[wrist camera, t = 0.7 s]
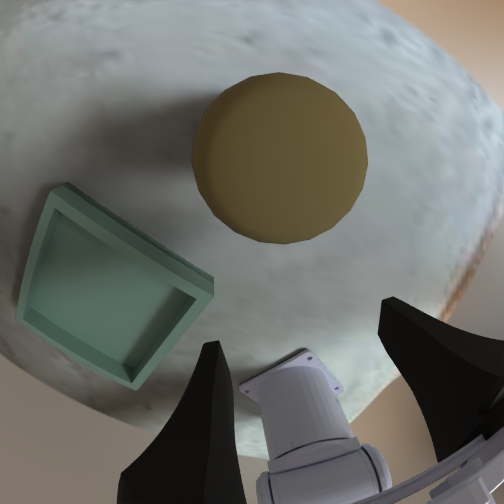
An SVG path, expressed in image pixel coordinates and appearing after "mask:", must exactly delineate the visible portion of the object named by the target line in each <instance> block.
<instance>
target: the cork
mask: <svg viewBox="0 0 504 504" xmlns="http://www.w3.org/2000/svg"><path fill="white" fill-rule="evenodd" d="M367 166H368V158H367V148H366V139H365V136H364V133H363V131H362V129H361V126H360V124H359V122H358V120H357V118H356V115H355V113H354V112H353V111H352V110H351V109H350V108H349V106H348V105H347V104H346V103H345V102H344V101H343V100H342V99H341V98H340V97H339V96H338V95H337V94H336V93H335V92H334V91H332V90H330V89H328V88H327V87H325V86H323V85H321V84H319V83H317V82H316V81H314V80H312V79H310V78H308V77H303V76H298V75H292V74H287V73H280V72H278V73H271V74H264V75H258V76H252V77H249V78H247V79H245V80H243V81H241V82H239V83H237V84H235V85H233V86H232V87H230V88H228V89H226V90H225V91H224V92H223V93H222V94H221V95H220V96H219V97H218V98H217V99H216V100H215V101H214V102H213V103H212V104H211V105H210V106H209V107H208V109H207V110H206V111H205V113H204V115H203V117H202V119H201V122H200V124H199V126H198V128H197V131H196V133H195V135H194V142H193V154H192V167H193V171H194V175H195V179H196V182H197V186H198V190H199V192H200V194H201V195H202V197H203V199H204V200H205V202H206V203H207V205H208V206H209V208H210V209H211V211H212V212H213V214H214V216H216V217H217V218H218V219H219V220H221V221H222V222H223V223H224V224H225V225H227V226H228V227H229V228H230V229H232V230H233V231H234V232H236V233H238V234H241V235H243V236H245V237H248V238H250V239H253V240H255V241H258V242H265V243H275V244H289V243H294V242H300V241H305V240H310V239H312V238H314V237H316V236H318V235H319V234H321V233H323V232H325V231H327V230H329V229H331V228H333V227H334V226H335V225H336V224H337V223H338V222H339V221H340V220H341V219H342V218H343V217H344V216H345V215H346V214H347V213H348V212H349V211H350V210H351V208H352V207H353V205H354V203H355V201H356V200H357V198H358V196H359V194H360V192H361V191H362V189H363V185H364V180H365V176H366V171H367Z"/></svg>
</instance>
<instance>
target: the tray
mask: <svg viewBox="0 0 504 504" xmlns="http://www.w3.org/2000/svg"><path fill="white" fill-rule="evenodd" d="M213 297H214V277H212V276H211V275H209V274H207V273H206V272H204V271H202V270H201V269H199V268H197V267H196V266H194V265H193V264H191V263H189V262H188V261H186V260H184V259H183V258H181V257H180V256H178V255H176V254H175V253H173V252H172V251H170V250H169V249H167V248H165V247H164V246H162V245H161V244H159V243H158V242H156V241H154V240H153V239H151V238H150V237H148V236H147V235H145V234H144V233H142V232H140V231H139V230H137V229H136V228H134V227H133V226H131V225H130V224H128V223H127V222H125V221H124V220H122V219H121V218H119V217H118V216H116V215H115V214H113V213H112V212H110V211H109V210H107V209H106V208H104V207H103V206H101V205H100V204H98V203H97V202H95V201H94V200H93V199H91V198H90V197H88V196H87V195H85V194H84V193H82V192H81V191H80V190H78V189H77V188H75V187H74V186H72V185H71V184H70V183H68V182H67V183H65V184H63V185H61V186H59V187H57V188H55V189H53V190H51V191H50V193H49V195H48V198H47V200H46V203H45V206H44V208H43V211H42V214H41V217H40V220H39V222H38V225H37V228H36V232H35V235H34V238H33V241H32V245H31V248H30V252H29V255H28V259H27V263H26V267H25V271H24V275H23V280H22V284H21V289H20V294H19V299H18V305H17V311H16V317H15V320H17V321H18V322H19V323H21V324H22V325H23V326H25V327H26V328H27V329H29V330H30V331H32V332H33V333H34V334H36V335H37V336H39V337H40V338H42V339H43V340H45V341H46V342H48V343H49V344H51V345H52V346H54V347H55V348H57V349H59V350H60V351H62V352H63V353H65V354H67V355H68V356H70V357H72V358H73V359H75V360H77V361H78V362H80V363H82V364H84V365H85V366H87V367H89V368H91V369H93V370H95V371H96V372H98V373H100V374H102V375H104V376H106V377H108V378H110V379H112V380H114V381H116V382H118V383H120V384H122V385H124V386H126V387H128V388H131V389H133V390H135V391H137V390H138V389H139V388H140V386H141V385H142V384H143V383H144V381H145V380H146V379H147V378H148V377H149V375H150V374H151V373H152V372H153V370H154V369H155V368H156V367H157V366H158V364H159V363H160V362H161V361H162V359H163V358H164V357H165V356H166V355H167V353H168V352H169V351H170V350H171V349H172V347H173V346H174V345H175V344H176V342H177V341H178V340H179V339H180V338H181V336H182V335H183V334H184V333H185V331H186V330H187V329H188V328H189V327H190V325H191V324H192V323H193V322H194V320H195V319H196V318H197V317H198V316H199V314H200V313H201V312H202V311H203V309H204V308H205V307H206V306H207V305H208V303H209V302H210V301H211V300H212V299H213Z"/></svg>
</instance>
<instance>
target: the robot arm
mask: <svg viewBox="0 0 504 504" xmlns="http://www.w3.org/2000/svg"><path fill="white" fill-rule="evenodd" d="M378 336H379V338H380V340H381V342H382V344H383V346H384V348H385V350H386V352H387V353H388V355H389V356H390V358H391V359H392V361H393V362H394V364H395V365H396V367H397V368H398V370H399V371H400V373H401V374H402V376H403V377H404V379H405V380H406V382H407V383H408V385H409V387H410V388H411V390H412V391H413V394H414V396H415V398H416V400H417V402H418V404H419V406H420V409H421V411H422V414H423V416H424V418H425V421H426V424H427V426H428V429H429V432H430V435H431V438H432V442H433V445H434V449H435V453H436V457H437V461H438V464H436V465H434V466H433V467H431V468H429V469H428V470H426V471H424V472H422V473H420V474H418V475H416V476H414V477H412V478H410V479H409V480H407V481H404V482H402V483H400V484H398V485H396V486H394V487H392V480H391V475H390V472H389V469H388V466H387V463H386V462H385V459H384V457H383V456H382V454H381V453H380V451H379V450H378V449H376V448H375V447H373V446H371V445H369V444H367V443H366V444H363V445H360V443H359V440H358V438H357V437H353V434H352V431H351V428H350V426H349V423H348V421H347V419H346V416H345V414H344V412H343V409H342V407H341V405H340V402H339V400H338V398H337V395H339V394H341V393H342V392H343V391H344V389H343V387H342V386H341V385H340V384H339V383H338V381H337V380H336V379H335V378H334V377H333V376H332V375H331V373H330V372H329V371H328V370H327V369H326V368H325V366H324V365H323V364H322V363H321V362H320V361H319V359H318V358H317V357H316V356H315V355H314V354H313V352H312V351H311V350H304V351H302V352H301V353H299V354H297V355H296V356H294V357H292V358H290V359H289V360H287V361H285V362H283V363H281V364H280V365H278V366H276V367H274V368H272V369H270V370H268V371H267V372H265V373H263V374H261V375H259V376H257V377H255V378H253V379H251V380H249V381H247V382H245V383H243V384H241V385H240V386H239V391H240V392H242V393H243V394H245V395H246V396H247V397H249V398H250V399H252V400H253V401H254V402H256V403H257V404H259V407H260V412H261V418H262V423H263V428H264V433H265V438H266V443H267V448H268V453H269V458H270V461H268V462H267V463H268V468H269V472H268V471H266V472H262V473H261V475H260V476H259V478H258V479H257V480H256V492H257V499H258V504H393V503H396V502H398V501H400V500H402V499H404V498H406V497H408V496H410V495H412V494H414V493H416V492H418V491H420V490H421V489H423V488H425V487H427V486H429V485H431V484H432V483H434V482H436V481H437V480H439V479H441V478H442V477H444V476H446V475H447V474H449V473H450V472H452V471H453V470H455V469H457V468H458V467H460V466H461V467H460V470H458V471H457V472H455V473H454V474H453V475H451V476H450V477H448V478H447V479H446V480H445V481H444V482H442V483H441V484H440V485H439V486H437V487H436V488H435V489H433V490H431V491H430V493H429V494H430V496H431V498H432V500H430V501H428V502H426V503H425V504H496V503H495V501H494V499H493V497H492V495H491V492H493V491H494V490H495V489H496V488H497V487H498V486H499V485H500V484H501V483H502V482H503V481H504V341H503V340H496V339H491V338H487V337H483V336H479V335H475V334H472V333H469V332H466V331H463V330H460V329H458V328H455V327H453V326H450V325H448V324H446V323H444V322H442V321H440V320H438V319H436V318H434V317H432V316H430V315H428V314H426V313H424V312H422V311H420V310H418V309H416V308H415V307H413V306H411V305H409V304H407V303H405V302H403V301H401V300H399V299H397V298H395V297H390V298H387V299H383V300H382V303H381V312H380V320H379V327H378ZM308 357H309V358H308ZM117 504H247V503H246V498H245V494H244V489H243V484H242V479H241V474H240V468H239V463H238V457H237V451H236V444H235V430H234V402H233V388H232V382H231V375H230V371H229V368H228V365H227V362H226V359H225V356H224V353H223V350H222V348H221V345H220V342H219V340H218V341H213V342H207V343H204V344H203V346H202V350H201V353H200V356H199V359H198V362H197V364H196V367H195V370H194V372H193V374H192V377H191V379H190V382H189V384H188V386H187V388H186V390H185V392H184V394H183V396H182V398H181V400H180V402H179V404H178V406H177V407H176V409H175V411H174V412H173V414H172V416H171V417H170V419H169V420H168V422H167V423H166V425H165V426H164V427H163V429H162V430H161V432H160V433H159V434H158V436H157V437H156V438H155V439H154V441H153V442H152V443H151V444H150V445H149V446H148V447H147V449H146V450H145V451H144V452H143V453H142V454H141V455H140V456H139V457H138V458H137V459H136V460H135V461H134V462H133V463H132V464H131V465H130V466H128V467H127V468H126V469H125V470H124V471H123V472H122V473H121V476H120V480H119V484H118V494H117Z"/></svg>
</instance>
